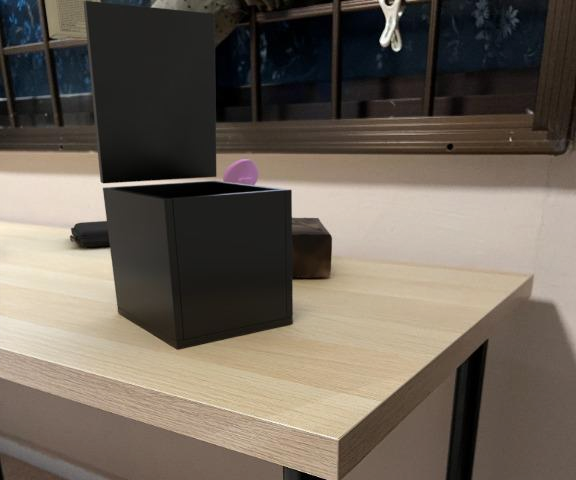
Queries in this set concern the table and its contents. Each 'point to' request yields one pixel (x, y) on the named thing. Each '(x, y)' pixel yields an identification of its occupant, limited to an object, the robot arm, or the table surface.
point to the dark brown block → (310, 248)
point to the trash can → (201, 258)
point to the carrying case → (91, 234)
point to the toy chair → (241, 172)
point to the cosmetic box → (66, 19)
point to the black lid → (152, 91)
